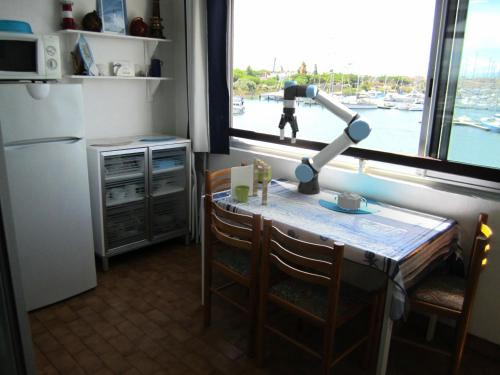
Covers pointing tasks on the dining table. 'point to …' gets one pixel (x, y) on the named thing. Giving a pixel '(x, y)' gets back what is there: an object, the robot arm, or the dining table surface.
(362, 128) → the robot arm
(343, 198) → the lumpy-topped squat cylinder
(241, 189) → the plant pot
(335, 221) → the dining table surface
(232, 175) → the door leaf
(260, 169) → the tea box
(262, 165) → the door frame
